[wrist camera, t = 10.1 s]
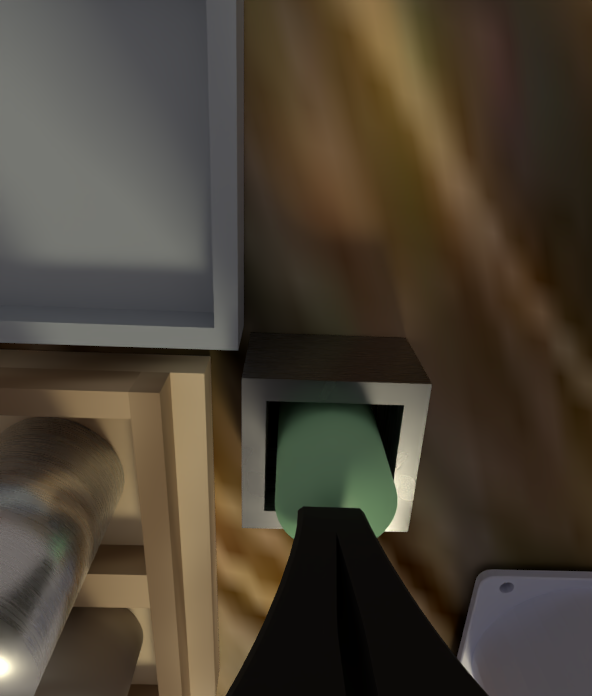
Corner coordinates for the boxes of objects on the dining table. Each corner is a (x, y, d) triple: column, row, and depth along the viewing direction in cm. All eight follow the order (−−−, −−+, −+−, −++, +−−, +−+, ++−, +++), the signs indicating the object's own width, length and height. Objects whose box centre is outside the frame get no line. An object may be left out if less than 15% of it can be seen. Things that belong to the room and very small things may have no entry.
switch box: (405, 337, 15) (432, 384, 12) (388, 466, 17) (408, 532, 14) (250, 332, 15) (241, 378, 12) (249, 462, 17) (241, 527, 14)
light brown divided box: (210, 355, 15) (147, 529, 9) (219, 668, 21) (185, 922, 14) (-95, 346, 15) (-403, 516, 8) (-4, 665, 20) (-146, 920, 14)
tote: (244, -52, 11) (235, -84, 10) (243, 326, 15) (238, 350, 13) (-169, -74, 11) (-250, -110, 9) (-69, 315, 15) (-115, 339, 13)
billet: (118, 419, 15) (18, 595, 9) (130, 526, 16) (50, 732, 11) (-24, 414, 14) (-214, 591, 9) (2, 523, 16) (-145, 731, 10)
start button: (375, 371, 15) (404, 454, 11) (366, 451, 16) (390, 552, 12) (280, 368, 15) (276, 451, 11) (277, 448, 16) (273, 549, 12)
